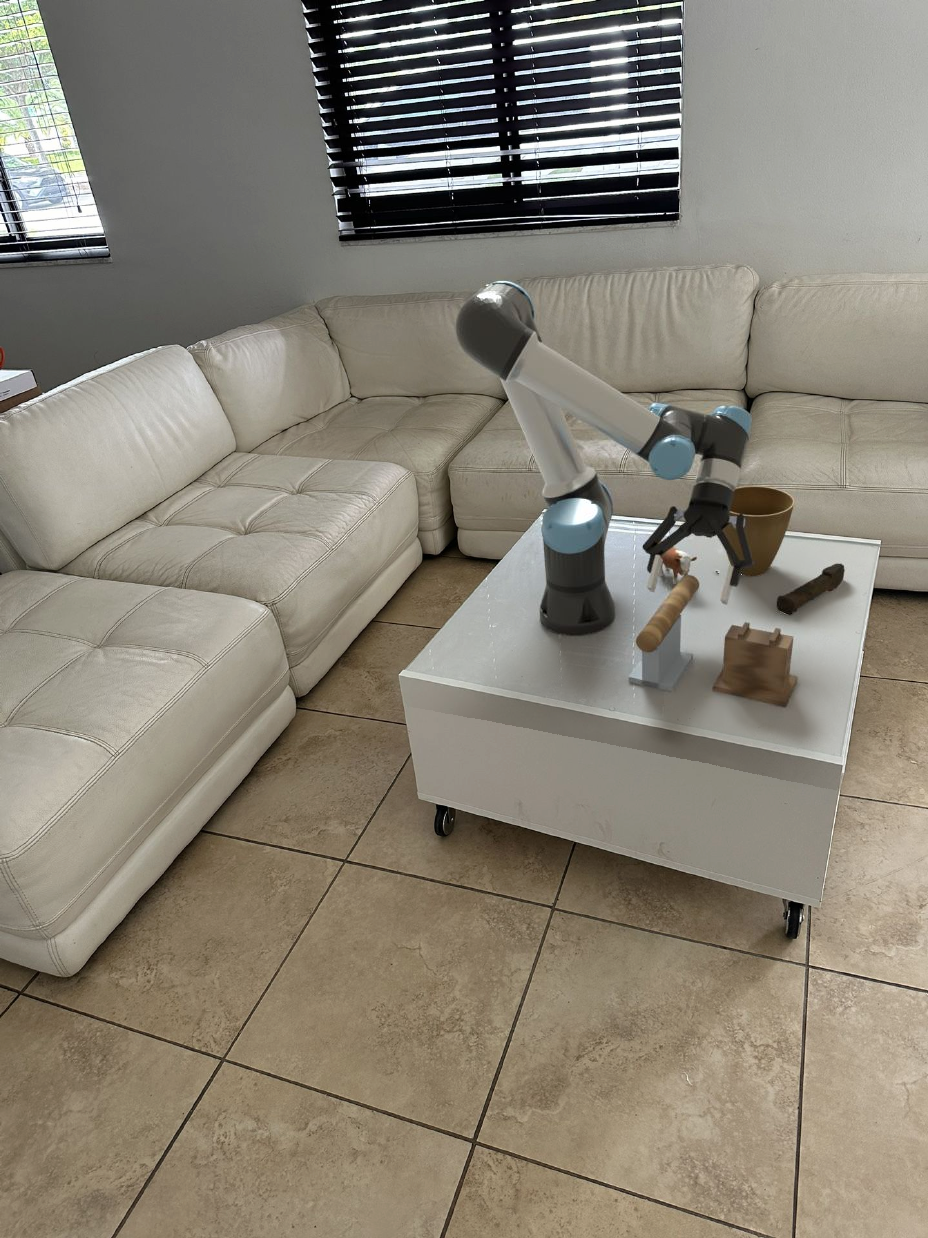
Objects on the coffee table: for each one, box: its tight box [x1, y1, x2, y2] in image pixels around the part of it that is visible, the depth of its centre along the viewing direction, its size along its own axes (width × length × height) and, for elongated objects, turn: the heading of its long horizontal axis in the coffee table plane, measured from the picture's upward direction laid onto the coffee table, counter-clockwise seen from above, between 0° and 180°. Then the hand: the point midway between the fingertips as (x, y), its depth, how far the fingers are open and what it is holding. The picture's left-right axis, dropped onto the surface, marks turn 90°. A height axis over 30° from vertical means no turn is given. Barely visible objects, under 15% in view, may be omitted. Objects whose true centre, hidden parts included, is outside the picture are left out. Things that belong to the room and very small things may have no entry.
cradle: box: [628, 614, 695, 693], centre depth 143 cm, size 8×11×9 cm
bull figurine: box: [659, 540, 698, 586], centre depth 171 cm, size 4×13×8 cm, turn 16°
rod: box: [635, 574, 700, 653], centre depth 143 cm, size 22×4×4 cm, turn 148°
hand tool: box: [775, 563, 845, 616], centre depth 160 cm, size 19×4×5 cm, turn 122°
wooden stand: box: [712, 621, 798, 708], centre depth 136 cm, size 12×8×11 cm, turn 58°
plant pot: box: [722, 485, 795, 577], centre depth 169 cm, size 15×15×16 cm
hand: (686, 596), depth 148 cm, fingers open, 13 cm apart
